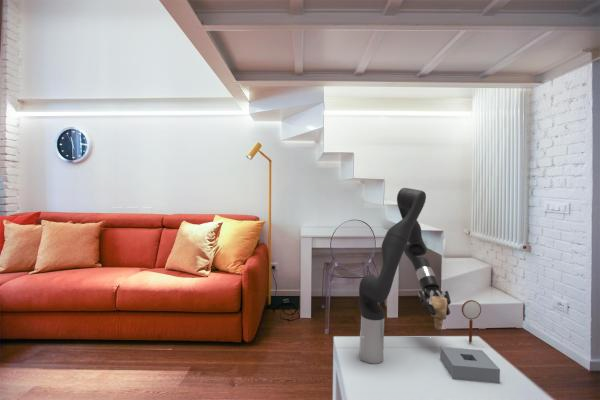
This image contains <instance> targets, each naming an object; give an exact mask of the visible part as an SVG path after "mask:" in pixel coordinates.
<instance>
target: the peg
mask: <svg viewBox="0 0 600 400" xmlns="http://www.w3.org/2000/svg"><path fill="white" fill-rule="evenodd" d="M432 305H433V307H434V309H435V312H436V314H435V315H434V316H432V314H431V313H430V316H431V318H433V322H434V329H435V330H438V331H440V330H442V329H443V324H444V320H446V319H447V315H446V310H447V299H446V298H444V297H440V296H433V297H432Z"/></svg>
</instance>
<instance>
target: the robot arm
mask: <svg viewBox="0 0 600 400" xmlns="http://www.w3.org/2000/svg"><path fill="white" fill-rule="evenodd" d="M396 196H397V197H396V203H397V204H396V205H397V207H398V211H399V213H400V217H401V219H400V220H399V222H397V223H395V224H394V225H392V226H391V227H390V228H389V229H388V230H387V231H386V233H385V235H384V237H383V240H382V243H381V255H382V256H381V257H382V267H381V271H380V273H379V276H375V275H371V274H365V276H363V277H362V278H361V280H360V281H359V286H358V289H359V290H358V295H359V296H358V297H359V299H358V300H359V309H360V312H361V313H360V331H359V359H360V361H361V362H365V363H368V364H372V365H373V364H381V363H383V361H384V345H385V344H384V342H385V341H384V340H385V310H384V308H383V307H382V306H381V305H380V303H381V304H382V303H383V302H385V301H386V300H387V299H388V297H389V295H390V293H391V289H392V286H393V283H394V281H395V275H396V274H397V273H396V272H397V269H398V267H399V264H400V262H401V259H402V256H403V254H405V256H406V257H407V258H408V259H409V261H410V262H411V264H412V266H413V268H414V271H415V273H416V277H417V280H418V282H419V285H420V288H421V290H420V291H418V292H417V297H418V299H419V301H420V303H421V304H422V306H423V307H427V308H428V311H429V314H430V315H431V314H432V316H434V315H435V314H436V312H435V309H434V307H433V305H432V297H433V296H440V297H444V298H446V299H447V310H446V316H449V315H450V314H451V310H450V308H449V305H451V303H452V301H451V298H450V297H451V296H450V295H449V291H448V290H445V291H442V290H441V289H440V285H439V282H438V280H437V277H436V275H435V273H434V271H433V269H432V266H431V265H430V262H429V260H428V258H426V257H424V256H425V255H426V254H427V251H428V248H427V245H426V244H425V242H424V240H423V236H422V228H421V227H422V226H421V225H420V223H419V221H418V218H419V216H420V214H421V213H422V211H423V209H424V206H425V203H426V199H427V194H426V192H425V191H424V190H421V189H420V190H419V189H416V188H415V189H414V188H409V187H403V188H401V189H400V190H398V193H397V195H396ZM432 316H431V317H432Z"/></svg>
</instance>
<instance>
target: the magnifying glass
mask: <svg viewBox="0 0 600 400" xmlns="http://www.w3.org/2000/svg"><path fill="white" fill-rule="evenodd" d="M461 312H462V315H463V316H464V318H466V319H468V320H469V325H468V326H469V327H468V328H469V329H468V342H469V344H470V345H471V344H472V342H473V322H474V321H473V320H475V319H477V318H478V317H479V316H480V315H481V313H482V307H481V305H480V303H479V302H478V301H477V300H473V299H470V300H469V299H468V300H466V301H465V302H464V303H463V304H462V306H461Z"/></svg>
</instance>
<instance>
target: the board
mask: <svg viewBox="0 0 600 400" xmlns="http://www.w3.org/2000/svg"><path fill="white" fill-rule="evenodd" d="M439 353H440V355H439V357H440V358H439V359H440V361H441V362H442V365H443V366H444V367H445V369H446V370H447V372H448V374H449V376H450V377H451V379H453V380H461V381H471V382H472V381H473V382H483V383H484V382H485V383H495V384H500V381H501V380H500V379H501V369H500V368H499V367H498V366H497V364H496V363H495V362H494V361H493V360H492V359H491V358H490V356H488V354H486V353H485V351H484V350H482V349H474V348H473V349H472V348H460V347H459V348H458V347H447V346H440V352H439Z"/></svg>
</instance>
